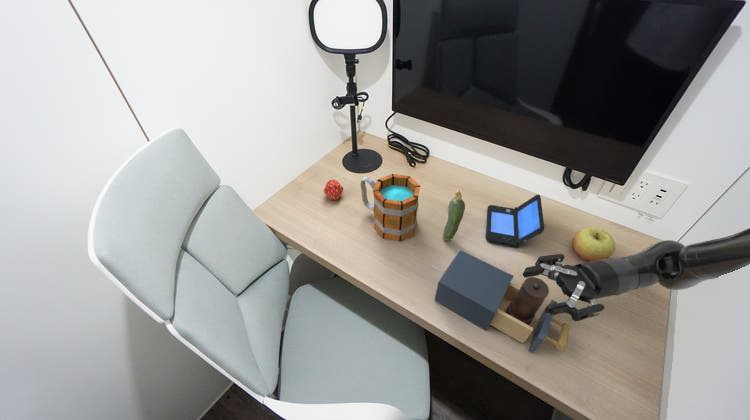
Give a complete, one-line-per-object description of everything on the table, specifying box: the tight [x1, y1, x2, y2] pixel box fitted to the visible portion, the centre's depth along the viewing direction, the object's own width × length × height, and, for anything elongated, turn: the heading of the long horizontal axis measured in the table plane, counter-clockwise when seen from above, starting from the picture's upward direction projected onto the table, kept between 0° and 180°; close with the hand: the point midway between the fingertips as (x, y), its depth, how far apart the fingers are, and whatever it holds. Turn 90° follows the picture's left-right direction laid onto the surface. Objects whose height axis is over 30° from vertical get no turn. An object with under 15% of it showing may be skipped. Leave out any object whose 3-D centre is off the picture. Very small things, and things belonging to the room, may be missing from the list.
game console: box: [485, 194, 545, 249], centre depth 93 cm, size 16×13×9 cm
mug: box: [359, 173, 421, 242], centre depth 94 cm, size 20×14×15 cm
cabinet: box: [434, 249, 514, 332], centre depth 76 cm, size 14×12×9 cm
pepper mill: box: [505, 276, 550, 325], centre depth 68 cm, size 6×6×14 cm
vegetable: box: [442, 189, 466, 242], centre depth 86 cm, size 4×4×20 cm
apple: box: [571, 226, 616, 262], centre depth 86 cm, size 10×10×8 cm
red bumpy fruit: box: [323, 179, 344, 201], centre depth 106 cm, size 6×7×8 cm
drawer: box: [489, 281, 571, 354], centre depth 71 cm, size 17×10×7 cm, turn 54°
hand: (534, 290), depth 65 cm, fingers open, 8 cm apart
